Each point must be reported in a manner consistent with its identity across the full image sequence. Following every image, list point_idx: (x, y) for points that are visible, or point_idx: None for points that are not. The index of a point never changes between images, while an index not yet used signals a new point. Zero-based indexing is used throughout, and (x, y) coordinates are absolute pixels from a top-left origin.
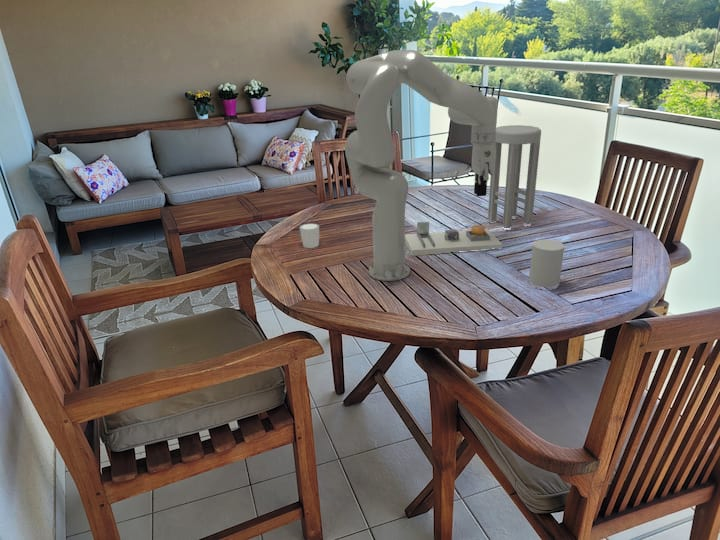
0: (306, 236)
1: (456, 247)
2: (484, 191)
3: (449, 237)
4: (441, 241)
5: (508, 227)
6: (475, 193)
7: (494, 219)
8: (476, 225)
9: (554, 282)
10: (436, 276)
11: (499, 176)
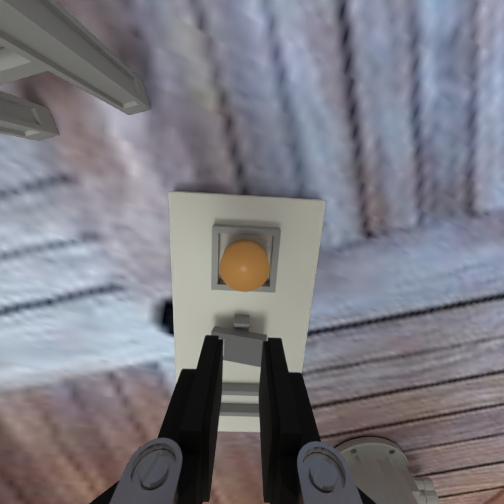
0: None
1: (306, 336)
2: (302, 385)
3: None
4: None
5: (141, 92)
6: (221, 395)
7: (38, 114)
8: (220, 267)
9: None
10: (415, 396)
11: None
